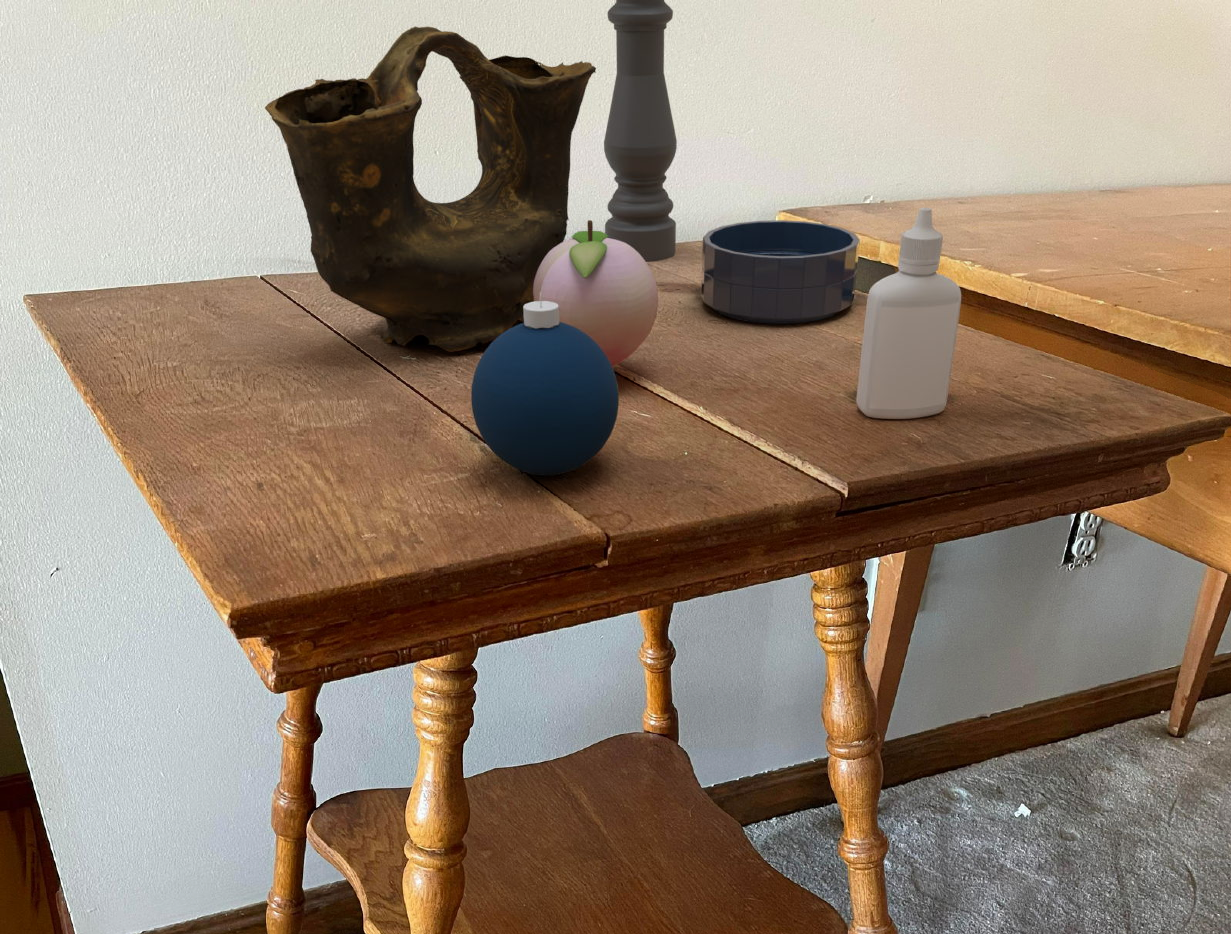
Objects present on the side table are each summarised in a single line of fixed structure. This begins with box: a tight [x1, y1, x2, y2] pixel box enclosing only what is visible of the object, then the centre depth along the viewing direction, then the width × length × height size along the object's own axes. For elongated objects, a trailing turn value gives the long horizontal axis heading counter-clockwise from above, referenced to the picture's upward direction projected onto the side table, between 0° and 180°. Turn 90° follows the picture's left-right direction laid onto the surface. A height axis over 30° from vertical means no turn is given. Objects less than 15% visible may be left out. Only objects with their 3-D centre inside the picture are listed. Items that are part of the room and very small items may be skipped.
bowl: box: [701, 219, 861, 325], centre depth 100 cm, size 12×12×5 cm
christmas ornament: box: [470, 292, 620, 476], centre depth 71 cm, size 8×8×10 cm
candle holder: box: [603, 0, 678, 263], centre depth 104 cm, size 6×6×25 cm
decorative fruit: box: [533, 219, 659, 368], centre depth 85 cm, size 9×8×10 cm
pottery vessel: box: [264, 26, 597, 353], centre depth 90 cm, size 25×11×20 cm, turn 131°
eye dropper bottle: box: [855, 207, 962, 420], centre depth 78 cm, size 4×6×12 cm
